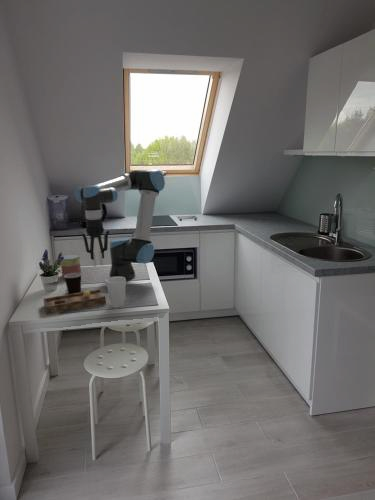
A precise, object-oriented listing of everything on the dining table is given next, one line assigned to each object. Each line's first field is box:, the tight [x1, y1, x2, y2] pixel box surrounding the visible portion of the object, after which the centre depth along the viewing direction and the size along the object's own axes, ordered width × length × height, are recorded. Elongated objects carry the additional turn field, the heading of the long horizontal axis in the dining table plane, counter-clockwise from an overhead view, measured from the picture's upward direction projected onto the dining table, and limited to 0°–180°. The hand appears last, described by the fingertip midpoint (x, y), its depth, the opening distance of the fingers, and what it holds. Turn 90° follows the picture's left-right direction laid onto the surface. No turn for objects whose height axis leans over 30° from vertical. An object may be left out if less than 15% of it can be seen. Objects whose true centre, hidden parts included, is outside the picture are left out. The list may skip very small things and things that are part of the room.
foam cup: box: [105, 276, 127, 308], centre depth 189 cm, size 10×9×13 cm
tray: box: [43, 288, 107, 315], centre depth 192 cm, size 28×12×4 cm, turn 114°
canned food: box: [60, 253, 82, 279], centre depth 236 cm, size 11×11×12 cm
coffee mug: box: [64, 273, 82, 295], centre depth 208 cm, size 12×9×10 cm
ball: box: [83, 290, 90, 298], centre depth 193 cm, size 4×4×4 cm
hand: (98, 265), depth 192 cm, fingers open, 3 cm apart
